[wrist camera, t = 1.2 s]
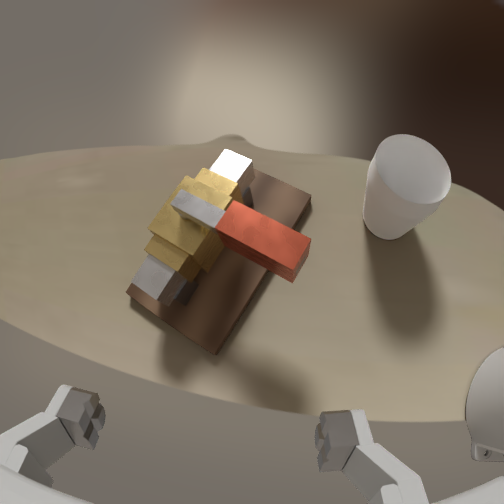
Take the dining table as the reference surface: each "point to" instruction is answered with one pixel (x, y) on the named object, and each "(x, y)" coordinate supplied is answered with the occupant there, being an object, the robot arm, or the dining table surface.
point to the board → (228, 274)
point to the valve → (192, 231)
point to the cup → (403, 185)
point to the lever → (249, 234)
